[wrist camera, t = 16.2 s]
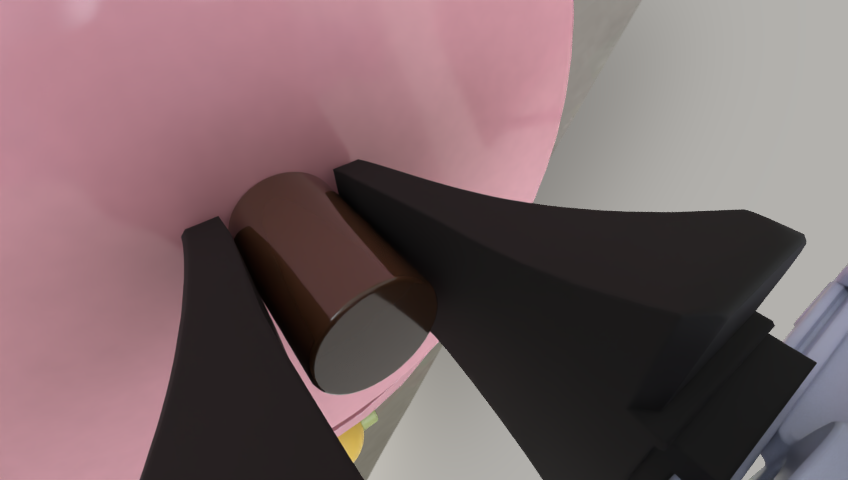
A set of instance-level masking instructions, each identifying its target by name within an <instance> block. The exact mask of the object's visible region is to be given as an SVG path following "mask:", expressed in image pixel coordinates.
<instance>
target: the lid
mask: <svg viewBox="0 0 848 480" xmlns="http://www.w3.org/2000/svg"><path fill="white" fill-rule="evenodd" d="M573 22H574V0H0V480H140V477H141V474H142V471H143V468H144V465H145V462H146V459H147V455H148V452H149V449H150V446H151V443H152V440H153V437H154V434H155V431H156V428H157V424H158V421H159V418H160V414H161V410H162V406H163V403H164V399H165V395H166V391H167V387H168V383H169V379H170V375H171V370H172V365H173V361H174V355H175V349H176V343H177V337H178V331H179V325H180V318H181V310H182V297H183V284H184V253H183V244H182V239H181V236H182V234H183V232H184V230H185V229H187V228H190V227H192V226H195V225H197V224H200V223H202V222H205V221H207V220H210V219H212V218H214V217H217V216H219V218H220V219H221V220H222V222H223V223H224V224H225V226H226V227H227V229H228V230H229V232H230V233H231V235H232V237H233V240H234V242H235V244H236V246H237V248H238V250H239V252H240V254H241V256H242V258H243V260H244V262H245V265H246V267H247V269H248V271H249V273H250V275H251V277H252V280H253V282H254V284H255V286H256V288H257V291H258V293H259V295H260V297H261V298H262V300H263V302H264V304H265V306H266V308H267V310H268V313H269V315H270V317H271V319H272V321H273V323H274V325H275V327H276V330H277V332H278V334H279V336H280V339H281V341H282V343H283V346H284V348H285V350H286V353H287V355H288V357H289V359H290V360H291V362H292V364H293V365H294V367H295V369H296V370H297V372H298V374H299V375H300V377H301V379H302V380H303V382H304V384H305V385H306V387H307V389H308V390H309V392H310V393H311V395H312V397H313V398H314V400H315V402H316V403H317V405H318V407H319V408H320V410H321V411H322V413H323V415H324V416H325V418H326V420H327V421H328V423H329V424H330V426H331V428H333V427H335V426H336V425H338V424H339V423H341V422H342V421H344V420H345V419H347V418H348V417H350V416H352V415H353V414H355V413H356V412H357V411H359V410H360V409H361V408H363V407H364V406H365V405H367V404H368V403H369V402H371V401H372V400H374V399H375V398H376V397H378V396H379V395H380V394H382V393H383V392H384V391H385V390H386V389H388V388H389V387H390V386H391V385H392V384H394V383H395V382H396V381H397V380H398V379H400V378H401V377H402V376H403V375H404V374H406V373H407V372H408V371H409V370H410V369H411V368H412V367H413V366H414V365H415V364H416V363H418V362H419V361H420V360H421V359H422V358H423V357H424V356H425V355H426V354H427V353H428V352H429V351H430V350H431V349H432V348H433V347H434V346H435V345H436V344H437V343H438V342H439V340H438V339H437V338H436V337H435V336H434V335H433V334H432V333H431V332H430V331H431V329H432V327H433V324H434V322H435V319H436V315H437V310H438V298H437V295H436V292H435V289H434V287H433V286H432V284H431V283H430V282H429V281H428V280H427V279H426V278H425V277H424V276H423V275H421V274H420V273H419V272H418V271H417V270H416V269H415V268H414V267H413V266H412V265H411V264H410V263H409V262H408V261H407V260H406V259H405V258H404V257H403V256H402V255H401V254H400V253H399V252H398V251H397V250H396V249H395V248H393V247H392V246H391V245H390V244H389V243H388V242H387V241H386V240H385V239H384V238H383V237H382V236H381V235H380V234H379V233H378V232H377V231H376V230H375V229H374V228H373V227H372V226H371V225H370V224H369V223H368V222H366V221H365V220H364V219H363V218H362V217H361V216H360V215H359V214H358V213H357V212H356V211H355V210H354V209H353V208H352V207H351V206H350V205H349V204H348V203H347V202H346V201H345V200H344V199H343V198H342V197H341V196H340V195H339V193H338V189H337V185H336V180H335V176H334V171H333V169H335V168H338V167H340V166H343V165H345V164H348V163H350V162H352V161H355V160H357V159H359V160H364V161H368V162H371V163H375V164H378V165H382V166H385V167H388V168H391V169H395V170H398V171H401V172H404V173H407V174H411V175H414V176H417V177H420V178H424V179H427V180H431V181H434V182H437V183H441V184H444V185H448V186H452V187H456V188H459V189H463V190H468V191H472V192H476V193H480V194H485V195H489V196H493V197H498V198H503V199H509V200H515V201H521V202H527V203H533V201H534V199H535V197H536V194H537V192H538V189H539V187H540V184H541V182H542V179H543V176H544V174H545V171H546V169H547V166H548V163H549V159H550V156H551V153H552V150H553V146H554V143H555V140H556V137H557V133H558V129H559V125H560V120H561V116H562V111H563V107H564V103H565V98H566V91H567V85H568V78H569V71H570V64H571V55H572V39H573Z"/></svg>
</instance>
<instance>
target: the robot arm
mask: <svg viewBox="0 0 848 480" xmlns="http://www.w3.org/2000/svg"><path fill="white" fill-rule="evenodd" d="M333 171H334V176H335V180H336V185H337V189H338V193H339V195H340V196H341V197H342V198H343V199H344V200H345V201H346V202H347V203H348V204H349V205H350V206H351V207H352V208H353V209H354V210H355V211H356V212H357V213H358V214H359V215H360V216H361V217H362V218H363V219H364V220H365V221H366V222H368V223H369V224H370V225H371V226H372V227H373V228H374V229H375V230H376V231H377V232H378V233H379V234H380V235H381V236H382V237H383V238H384V239H385V240H386V241H387V242H388V243H389V244H390V245H391V246H392V247H393V248H395V249H396V250H397V251H398V252H399V253H400V254H401V255H402V256H403V257H404V258H405V259H406V260H407V261H408V262H409V263H410V264H411V265H412V266H413V267H414V268H415V269H416V270H417V271H418V272H419V273H420V274H421V275H423V276H424V277H425V278H426V279H427V280H428V281H429V282H430V283H431V284H432V286H433V287H434V289H435V292H436V295H437V298H438V310H437V315H436V319H435V322H434V324H433V327H432V329H431V331H430V332H431V333H432V334H433V335H434V336H435V337H436V338H437V339H438V340H439V342H440V343H441V344H442V345H443V346H444V347H445V348H446V349H447V350H448V352H449V353H450V354H451V356H452V357H453V358H454V359H455V360H456V362H457V363H458V364H459V366H460V367H461V368H462V369H463V371H464V372H465V373H466V375H467V376H468V377H469V378H470V379H471V381H472V382H473V383H474V385H475V386H476V387H477V389H478V390H479V391H480V393H481V394H482V395H483V397H484V398H485V399H486V401H487V402H488V403H489V405H490V406H491V407H492V409H493V410H494V411H495V413H496V414H497V415H498V417H499V418H500V419H501V421H502V422H503V424H504V425H505V426H506V428H507V429H508V430H509V432H510V433H511V435H512V436H513V437H514V439H515V440H516V441H517V443H518V444H519V446H520V447H521V449H522V450H523V451H524V452H525V454H526V455H527V457H528V458H529V460H530V461H531V463H532V464H533V466H534V467H535V469H536V470H537V472H538V473H539V475H540V476H541V478H542V479H543V480H741V479H742V478H743V477H744V475H745V474H746V473H747V471H748V470H749V468H750V467H751V466H752V464H753V463H754V462H755V460H756V459H757V457H758V456H759V455H760V454H761V455H762V457H763V458H764V460H765V466H764V467H763V468H762V469H761V470H760V471H758V472H757V473H756V474H755V475H754V476H752V477H751V478H750V479H749V480H848V265H846V267H845V268H844V269H843V270H842V272H841V273H840V274H839V275H838V276H837V277H836V278H835V280H834V281H833V282H830V283H829V284H828V285H827V286H826V287H825V288H824V290H823V291H822V292H821V293H820V294H819V295H818V296H817V297H816V298H815V299H814V301H813V302H812V303H811V304H810V305H809V307H808V308H807V309H806V310H805V311H804V312H803V314H802V315H801V316H800V317H799V318H798V319H797V321H796V322H795V323H794V326H795V327H794V328H793V330H792V331H791V332H790V333H789V334H788V336H787V337H786V338H785V339H784V340H783V341H780V340H778V339H777V338H775V337H773V336H772V335H770V334H768V333H769V332H770V331H771V329H772V328H773V327H774V326H775V325H774V323H773V321H772V320H770V319H768V318H766V317H765V316H763V315H761V314H760V313H758V312H756V310H757V308H758V307H759V306H760V304H761V303H762V302H763V301H764V299H765V298H766V297H767V295H768V294H769V293H770V291H771V290H772V289H773V288H774V286H775V285H776V284H777V283H778V281H779V280H780V279H781V278H782V276H783V275H784V274H785V273H786V271H787V270H788V269H789V267H790V266H791V265H792V263H793V262H794V261H795V259H796V258H797V256H798V255H799V254H800V252H801V251H802V249H803V248H804V246H805V245H806V239H805V236H804V234H802V233H800V232H798V231H795V230H793V229H791V228H789V227H787V226H784V225H782V224H780V223H778V222H775V221H773V220H771V219H769V218H766V217H764V216H761V215H759V214H756V213H754V212H751V211H748V210H721V211H720V210H719V211H695V212H622V211H600V210H588V209H577V208H565V207H556V206H547V205H540V204H534V203H527V202H521V201H515V200H509V199H503V198H498V197H493V196H489V195H485V194H480V193H476V192H472V191H468V190H463V189H459V188H456V187H452V186H448V185H444V184H441V183H437V182H434V181H431V180H427V179H424V178H420V177H417V176H414V175H411V174H407V173H404V172H401V171H398V170H395V169H391V168H388V167H385V166H382V165H378V164H375V163H371V162H368V161H364V160H359V159H357V160H355V161H352V162H350V163H348V164H345V165H343V166H340V167H338V168H335V169H333ZM181 239H182V244H183V253H184V284H183V297H182V310H181V318H180V325H179V331H178V337H177V343H176V349H175V355H174V361H173V365H172V370H171V375H170V379H169V383H168V387H167V391H166V395H165V399H164V403H163V406H162V410H161V414H160V418H159V421H158V424H157V428H156V431H155V434H154V437H153V440H152V443H151V446H150V449H149V452H148V455H147V459H146V462H145V465H144V468H143V471H142V474H141V477H140V480H364V479H363V478H362V476H361V474H360V473H359V471H358V470H357V468H356V466H355V465H354V463H353V462H352V460H351V458H350V457H349V455H348V454H347V452H346V450H345V449H344V447H343V446H342V444H341V442H340V441H339V439H338V437H337V436H336V434H335V433H334V431H333V429H332V428H331V426H330V424H329V423H328V421H327V420H326V418H325V416H324V415H323V413H322V411H321V410H320V408H319V407H318V405H317V403H316V402H315V400H314V398H313V397H312V395H311V393H310V392H309V390H308V389H307V387H306V385H305V384H304V382H303V380H302V379H301V377H300V375H299V374H298V372H297V370H296V369H295V367H294V365H293V364H292V362H291V360H290V359H289V357H288V355H287V353H286V350H285V348H284V346H283V343H282V341H281V339H280V336H279V334H278V332H277V330H276V327H275V325H274V323H273V321H272V319H271V317H270V315H269V313H268V310H267V308H266V306H265V304H264V302H263V300H262V298H261V297H260V295H259V293H258V291H257V288H256V286H255V284H254V282H253V280H252V277H251V275H250V273H249V271H248V269H247V267H246V265H245V262H244V260H243V258H242V256H241V254H240V252H239V250H238V248H237V246H236V244H235V242H234V240H233V237H232V235H231V233H230V232H229V230H228V229H227V227H226V226H225V224H224V223H223V222H222V220H221V219H220V218H219V216H217V217H214V218H212V219H210V220H207V221H205V222H202V223H200V224H197V225H195V226H192V227H190V228H187V229H185V230H184V232H183V234H182V236H181Z"/></svg>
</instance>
